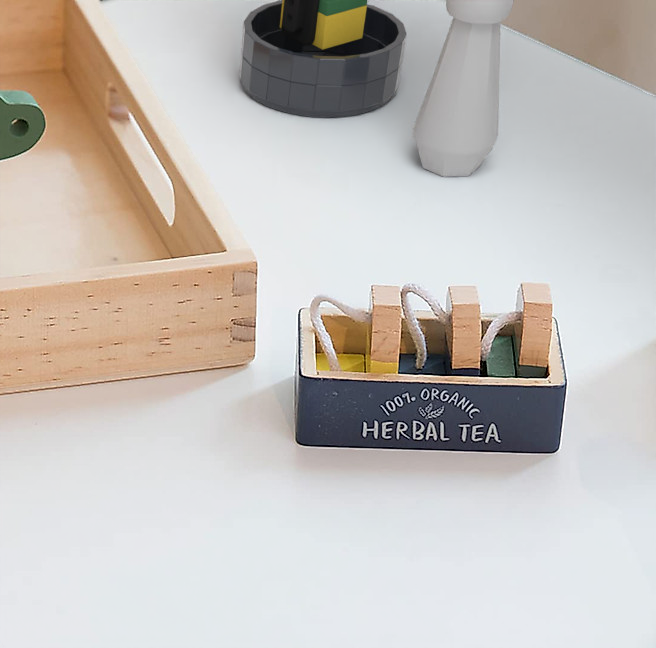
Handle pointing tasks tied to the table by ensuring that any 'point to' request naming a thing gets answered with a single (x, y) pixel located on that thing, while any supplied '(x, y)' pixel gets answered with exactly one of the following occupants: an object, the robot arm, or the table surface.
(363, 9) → the sponge
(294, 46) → the bowl
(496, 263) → the table surface
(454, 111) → the salt shaker
